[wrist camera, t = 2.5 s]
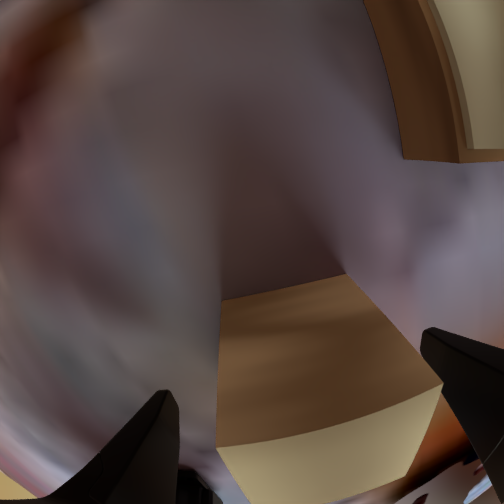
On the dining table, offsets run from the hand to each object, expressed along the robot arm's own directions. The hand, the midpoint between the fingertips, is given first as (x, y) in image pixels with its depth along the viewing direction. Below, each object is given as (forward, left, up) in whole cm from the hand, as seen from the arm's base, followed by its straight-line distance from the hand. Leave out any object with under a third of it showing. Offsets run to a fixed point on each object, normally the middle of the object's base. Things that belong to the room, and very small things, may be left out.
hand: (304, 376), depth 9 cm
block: (0, 0, -2) cm, 2 cm away
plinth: (+10, +12, -2) cm, 16 cm away
